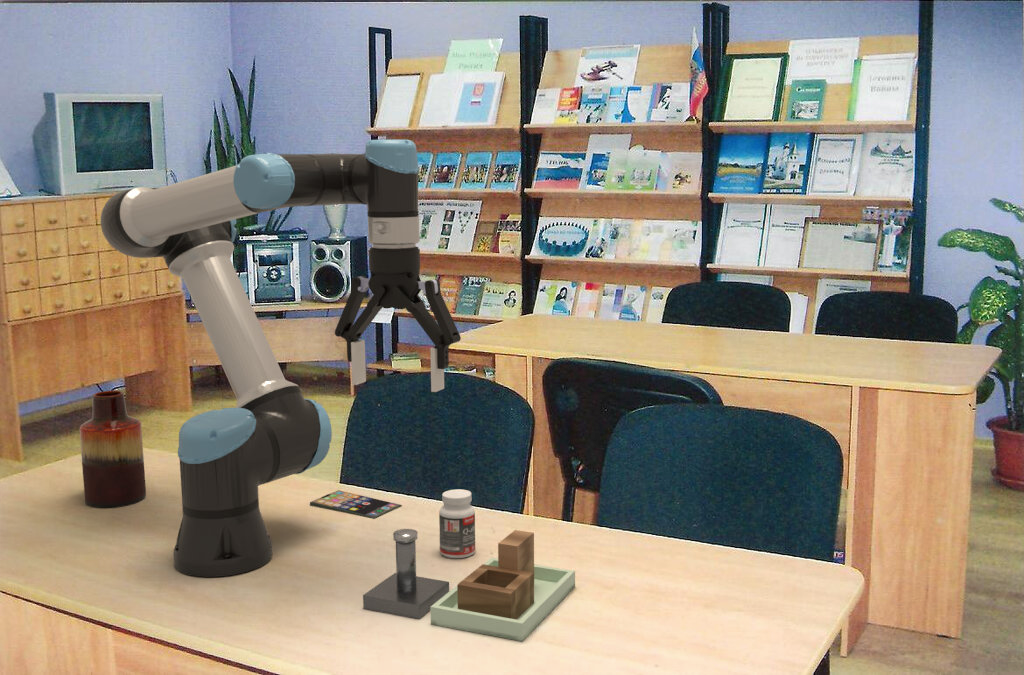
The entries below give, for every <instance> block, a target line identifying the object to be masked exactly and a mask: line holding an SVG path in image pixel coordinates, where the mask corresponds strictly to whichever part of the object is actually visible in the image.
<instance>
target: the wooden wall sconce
mask: <svg viewBox="0 0 1024 675" xmlns="http://www.w3.org/2000/svg"><path fill="white" fill-rule="evenodd" d="M497 544H498V545H497V549H498V550H497V551H498V552H497V554H498V555H497V556H498V558H497V559H498V567H497V566H490V565H484V563H482V564H481V565H480V566H478V567H477V568H476V569H475V570H473V571H472V572H471V573H470V574H468V575H467V576H466V577H464V579H462V580H461V581H460V582H458V583H457V585H456V586H457V593H458V609H460V610H466V611H472V612H477V613H483V614H488V615H494V616H499V617H505V618H510V619H516V620H517V619H518V618H519V617H520V616H521V615H522V614H523V613H524V612H525V611H526V610H527V609H528V608H529V607H530V606H531V605H532V604H533V603H534V564H535V533H534V532H532V531H525V530H517V529H515V530H513V531H512V532H511V533H509V534H508V535H506V536H505V538H502V540H500V541H499V542H498V543H497Z"/></svg>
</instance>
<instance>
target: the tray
mask: <svg viewBox="0 0 1024 675" xmlns="http://www.w3.org/2000/svg"><path fill="white" fill-rule="evenodd" d="M483 564H484V565H490V566H497V567H498V558H497V557H496V558H495V557H490V558H489V559H488V560H487V561H486V562H484V563H483ZM575 588H576V570H572V569H566V568H559V567H553V566H547V565H540V564H535V563H534V603H533V604H532V605H531V606H530V607H529V608H528V609H527V610H526V611H525V612H524V613H523V614H522V615H521V616H520V617H519V618H518V619H517V620H516V619H510V618H505V617H499V616H494V615H488V614H483V613H477V612H472V611H466V610H460V609H458V593H457V585H455V586H454V587H453V588H451V590H449V592H448V593H447V594H446V595H444V596H443V597H442V598H441V599H440V600H438V601H437V602H436V603H435V604H433V605H432V606H431V607H430V609H431V610H430V625H433V626H438V627H445V628H449V629H455V630H460V631H465V632H469V633H470V632H471V633H477V634H481V635H486V636H492V637H497V638H502V639H508V640H514V641H517V642H518V641H519V642H523V641H524V640H526V638H528V637H529V636H530V634H532V633H533V631H534V630H535V629H536V628H538V626H539V625H540V624H541V623H542V622H543V621H544V620H545V619H546V618H547V617H548V616H549V615H550V613H551V612H553V610H555V609H556V607H557V606H558V605H559V604H560V603H561V602H562V601H563V600H564V599H565V598H566V597H567V596H568V595H569V594H570V593H571V592H572V591H573V590H574V589H575Z"/></svg>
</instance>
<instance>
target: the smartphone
mask: <svg viewBox="0 0 1024 675" xmlns="http://www.w3.org/2000/svg"><path fill="white" fill-rule="evenodd" d="M309 506H311V507H315V508H321V509H325V510H331V511H335V512H338V513H344V514H349V515H352V516H353V515H354V516H359V517H365V518H367V519H368V518H369V519H373V520H375V519H377V518H379V517H382V516H384V515H386V514H388V513H391V512H393V511H395V510H397V509H399V508H402V507H403V505H402V504H399V503H396V502H391V501H385V500H383V499H382V500H381V499H378V498H374V497H371V496H370V497H369V496H366V495H365V496H364V495H361V494H356V493H351V492H348V491H343V490H340V489H337V490H336V491H333V492H330V493H328V494H325V495H323V496H321V497H319V498H316V499H314V500H312V501H309Z"/></svg>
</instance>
